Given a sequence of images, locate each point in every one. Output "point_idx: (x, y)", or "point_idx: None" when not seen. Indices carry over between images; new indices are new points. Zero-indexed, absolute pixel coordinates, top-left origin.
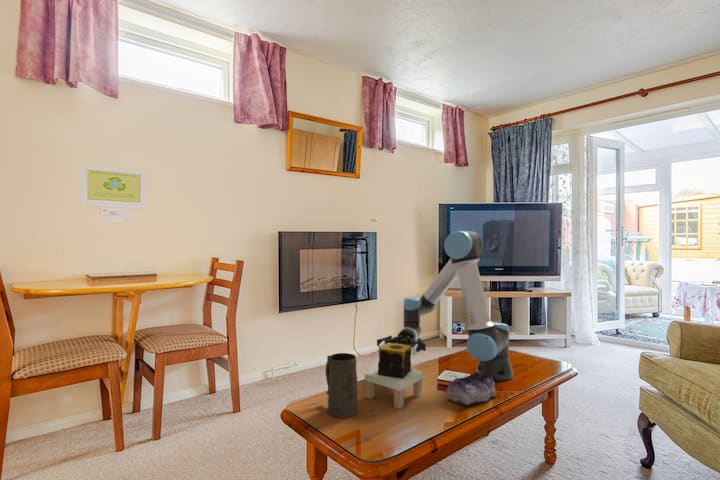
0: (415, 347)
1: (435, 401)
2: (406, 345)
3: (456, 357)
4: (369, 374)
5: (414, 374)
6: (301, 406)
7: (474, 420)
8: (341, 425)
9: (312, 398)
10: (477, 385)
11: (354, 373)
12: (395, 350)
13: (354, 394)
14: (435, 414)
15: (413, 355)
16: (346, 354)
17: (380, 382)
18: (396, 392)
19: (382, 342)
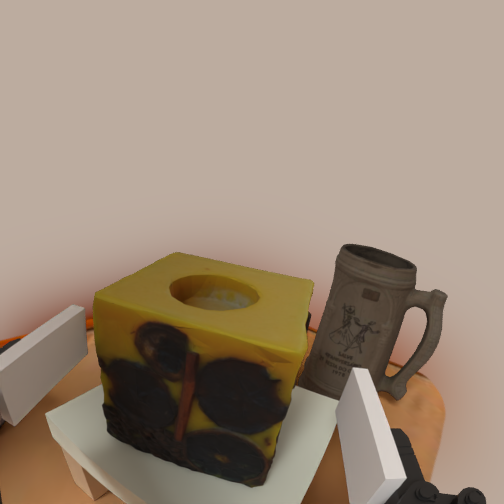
0: (53, 318)
1: (45, 431)
2: (131, 297)
3: None
4: (321, 398)
5: (102, 396)
6: (425, 393)
7: (12, 340)
8: (307, 352)
9: (437, 424)
10: None
11: (330, 290)
12: (217, 262)
13: (314, 341)
14: (83, 374)
15: (83, 351)
16: (391, 269)
17: None
18: None
19: (382, 432)
